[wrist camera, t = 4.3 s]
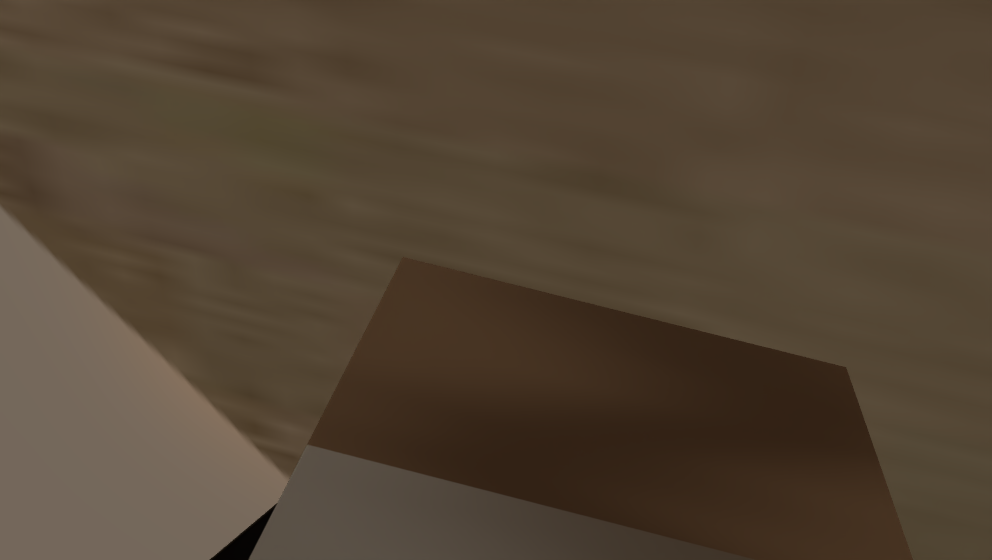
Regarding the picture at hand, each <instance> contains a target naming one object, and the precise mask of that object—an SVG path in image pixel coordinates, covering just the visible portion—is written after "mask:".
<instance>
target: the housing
mask: <svg viewBox="0 0 992 560" xmlns="http://www.w3.org/2000/svg"><path fill="white" fill-rule="evenodd" d="M249 560H913V559H912V556H911V553H910V550H909V547H908V544H907V541H906V539H905V536H904V533H903V530H902V527H901V524H900V521H899V518H898V515H897V513H896V510H895V507H894V504H893V501H892V498H891V495H890V492H889V490H888V487H887V484H886V481H885V478H884V475H883V472H882V469H881V467H880V464H879V461H878V458H877V455H876V452H875V449H874V446H873V444H872V441H871V438H870V435H869V432H868V429H867V426H866V423H865V421H864V418H863V415H862V412H861V409H860V406H859V403H858V400H857V398H856V395H855V392H854V389H853V386H852V383H851V380H850V377H849V375H848V372H847V369H846V367H842V366H838V365H834V364H830V363H826V362H822V361H818V360H814V359H810V358H806V357H802V356H798V355H794V354H790V353H786V352H782V351H778V350H774V349H770V348H766V347H762V346H758V345H754V344H750V343H746V342H742V341H738V340H734V339H730V338H726V337H722V336H718V335H714V334H710V333H706V332H702V331H698V330H694V329H690V328H686V327H682V326H678V325H674V324H670V323H666V322H662V321H658V320H654V319H650V318H646V317H642V316H637V315H633V314H629V313H625V312H621V311H617V310H613V309H609V308H605V307H601V306H597V305H593V304H589V303H585V302H581V301H577V300H573V299H569V298H565V297H561V296H557V295H553V294H549V293H545V292H541V291H537V290H533V289H529V288H525V287H521V286H517V285H513V284H509V283H505V282H501V281H497V280H493V279H489V278H485V277H481V276H477V275H473V274H469V273H465V272H461V271H457V270H453V269H449V268H445V267H441V266H437V265H433V264H429V263H425V262H421V261H417V260H413V259H408V258H404V257H403V258H402V260H401V262H400V264H399V266H398V268H397V270H396V272H395V274H394V276H393V278H392V280H391V282H390V284H389V285H388V287H387V289H386V291H385V293H384V295H383V297H382V299H381V301H380V303H379V305H378V307H377V309H376V311H375V313H374V315H373V317H372V319H371V321H370V323H369V325H368V327H367V329H366V331H365V333H364V334H363V336H362V338H361V340H360V342H359V344H358V346H357V348H356V350H355V352H354V354H353V356H352V358H351V360H350V362H349V364H348V366H347V368H346V370H345V372H344V374H343V376H342V378H341V380H340V382H339V383H338V385H337V387H336V389H335V391H334V393H333V395H332V397H331V399H330V401H329V403H328V405H327V407H326V409H325V411H324V413H323V415H322V417H321V419H320V421H319V423H318V425H317V427H316V429H315V431H314V432H313V434H312V436H311V438H310V440H309V442H308V444H307V446H306V448H305V450H304V452H303V454H302V456H301V458H300V460H299V462H298V464H297V466H296V468H295V470H294V472H293V474H292V476H291V478H290V480H289V481H288V483H287V486H286V487H285V489H284V491H283V494H282V495H281V497H280V499H279V501H278V503H277V505H276V507H275V509H274V511H273V513H272V515H271V517H270V519H269V521H268V523H267V525H266V527H265V529H264V530H263V532H262V534H261V536H260V538H259V540H258V542H257V544H256V546H255V548H254V550H253V552H252V554H251V556H250V558H249Z"/></svg>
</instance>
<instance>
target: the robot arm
mask: <svg viewBox="0 0 992 560" xmlns="http://www.w3.org/2000/svg"><path fill="white" fill-rule="evenodd" d="M276 505H277V504H275V505H274V506H273V507H272V508H271V509H270V510H268V511H267V512H266V513H265V514H264V515H262V516H261V517H260V518H259V519H258V520H257V521H255V522H254V523H253V524H252V525H251V526H249V527H248V528H247V529H246V530H245V531H243V532H242V533H241V534H240V535H239V536H237V537H236V538H235V539H234V540H233V541H232V542H230V543H229V544H228V545H227V546H226V547H224V548H223V549H222V550H221V551H220V552H219V553H217V554H216V555H215V556H214V557H212V558H211V559H210V560H249V558H250V556H251V554H252V552H253V550H254V548H255V546H256V544H257V542H258V540H259V538H260V536H261V534H262V532H263V530H264V529H265V527H266V525H267V523H268V521H269V519H270V517H271V515H272V513H273V511H274V509H275V507H276Z"/></svg>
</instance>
